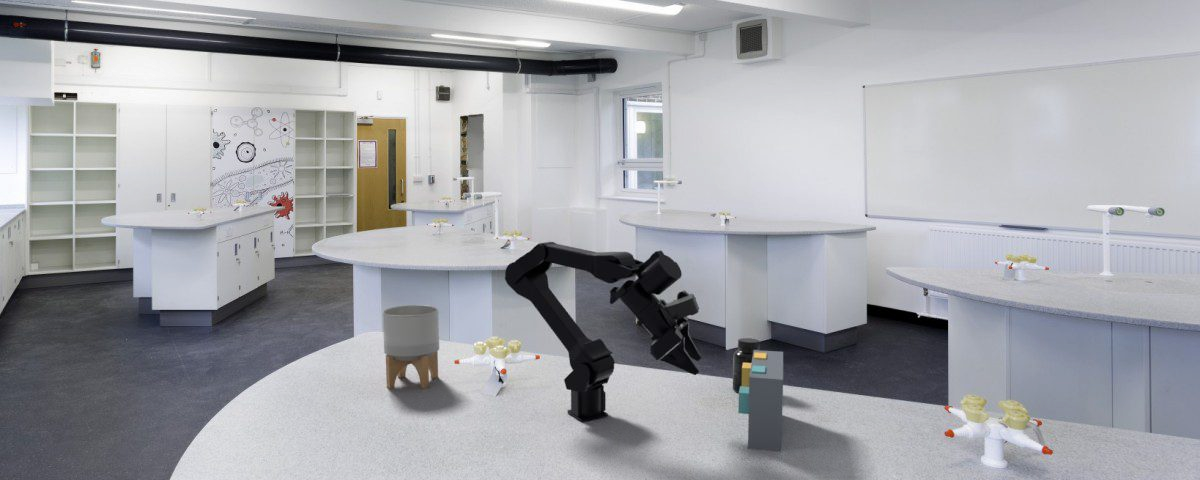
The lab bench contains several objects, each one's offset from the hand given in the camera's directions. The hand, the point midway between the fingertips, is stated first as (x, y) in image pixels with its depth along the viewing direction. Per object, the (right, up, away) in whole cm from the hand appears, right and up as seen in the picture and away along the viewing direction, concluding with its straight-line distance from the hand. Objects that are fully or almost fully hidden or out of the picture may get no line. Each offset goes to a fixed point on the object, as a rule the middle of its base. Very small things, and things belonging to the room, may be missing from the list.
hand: (698, 366), depth 139 cm
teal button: (+9, -8, -3) cm, 12 cm away
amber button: (+12, -5, +6) cm, 14 cm away
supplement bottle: (+15, -11, +26) cm, 32 cm away
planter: (-65, -10, +34) cm, 74 cm away
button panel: (+13, -13, +1) cm, 18 cm away
